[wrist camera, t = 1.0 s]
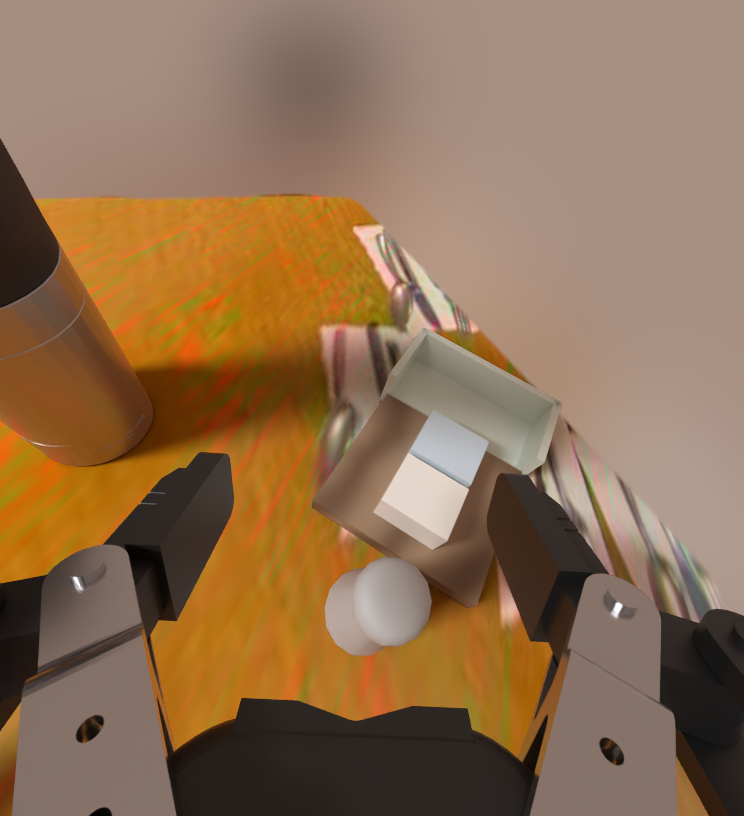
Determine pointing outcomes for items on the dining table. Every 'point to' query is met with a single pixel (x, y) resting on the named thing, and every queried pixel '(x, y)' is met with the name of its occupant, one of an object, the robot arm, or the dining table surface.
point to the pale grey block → (449, 448)
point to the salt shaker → (378, 606)
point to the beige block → (422, 502)
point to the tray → (476, 399)
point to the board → (354, 510)
